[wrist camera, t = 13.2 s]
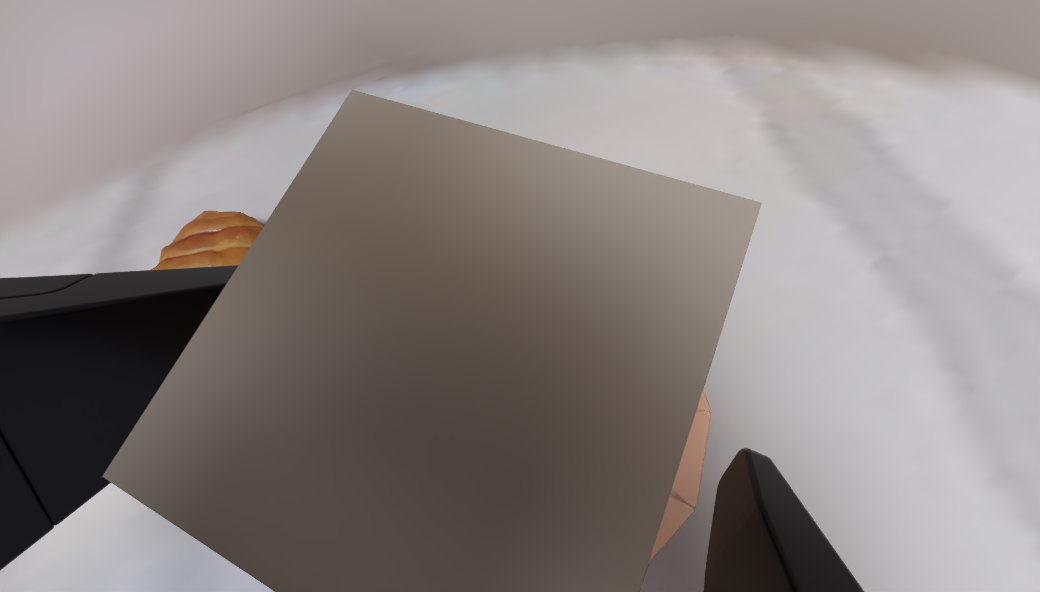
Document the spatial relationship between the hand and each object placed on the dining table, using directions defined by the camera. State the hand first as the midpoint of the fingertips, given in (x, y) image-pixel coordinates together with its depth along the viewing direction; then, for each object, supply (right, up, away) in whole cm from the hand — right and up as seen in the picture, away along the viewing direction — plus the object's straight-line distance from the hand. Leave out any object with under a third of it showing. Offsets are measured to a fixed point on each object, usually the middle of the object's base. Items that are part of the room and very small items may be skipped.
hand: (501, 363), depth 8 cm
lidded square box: (+1, -3, +8) cm, 9 cm away
